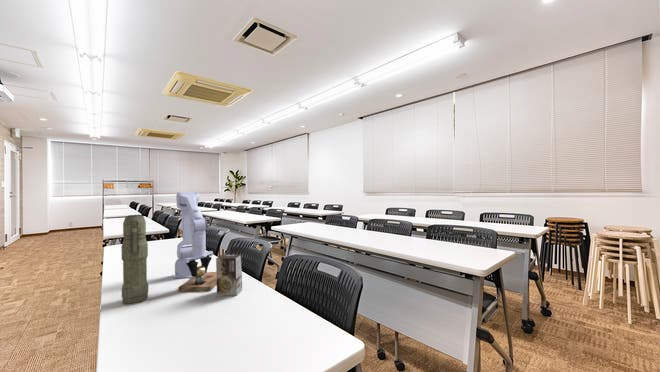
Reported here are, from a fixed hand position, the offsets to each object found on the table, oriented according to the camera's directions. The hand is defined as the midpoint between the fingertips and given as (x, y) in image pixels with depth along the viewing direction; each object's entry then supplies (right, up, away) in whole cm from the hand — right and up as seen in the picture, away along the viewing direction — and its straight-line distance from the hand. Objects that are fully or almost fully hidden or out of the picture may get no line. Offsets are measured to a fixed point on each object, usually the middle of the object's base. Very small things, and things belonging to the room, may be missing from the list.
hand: (199, 274), depth 126 cm
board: (0, -6, +6) cm, 8 cm away
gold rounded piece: (0, -5, 0) cm, 5 cm away
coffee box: (+17, -6, -7) cm, 19 cm away
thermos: (-20, -6, -14) cm, 25 cm away
